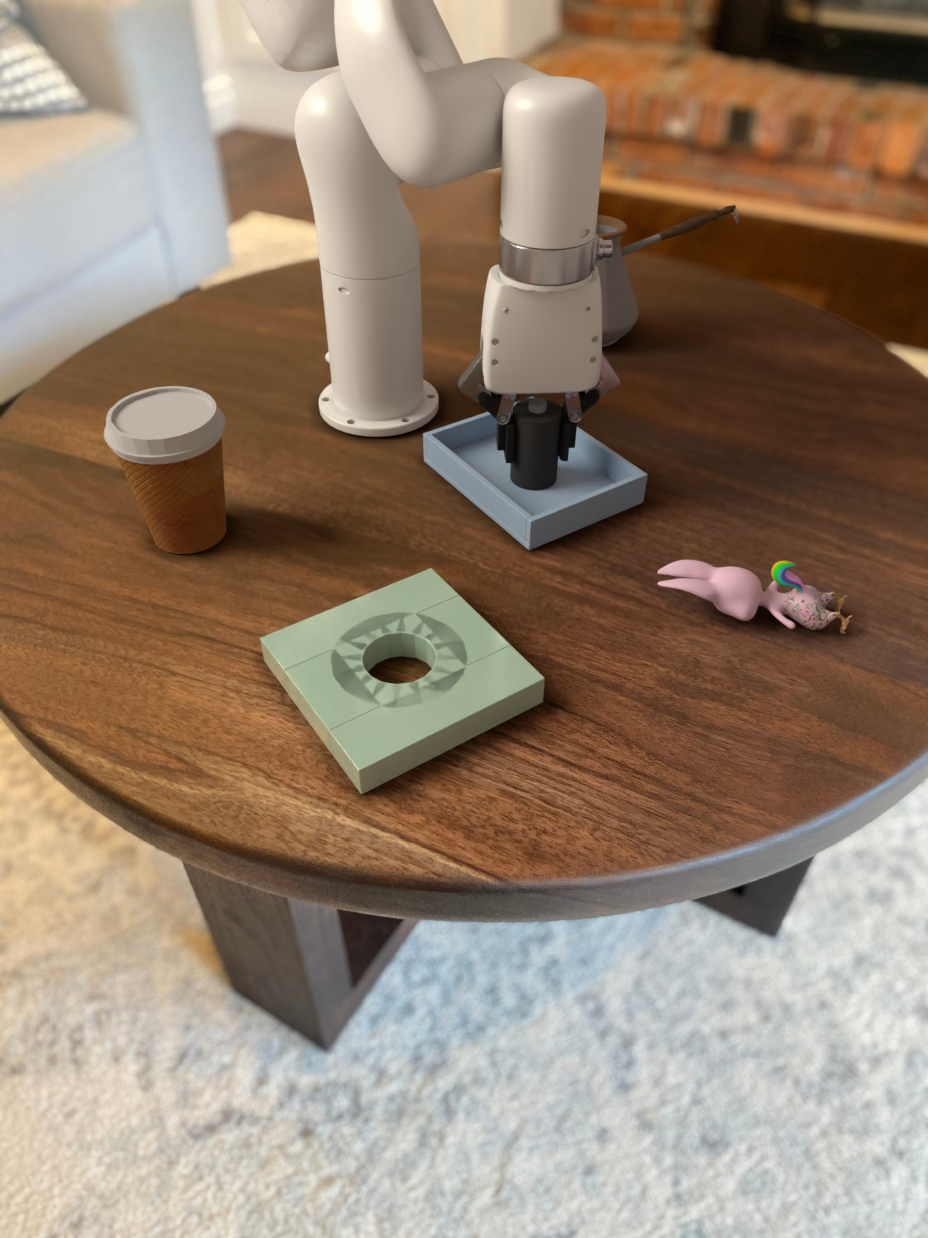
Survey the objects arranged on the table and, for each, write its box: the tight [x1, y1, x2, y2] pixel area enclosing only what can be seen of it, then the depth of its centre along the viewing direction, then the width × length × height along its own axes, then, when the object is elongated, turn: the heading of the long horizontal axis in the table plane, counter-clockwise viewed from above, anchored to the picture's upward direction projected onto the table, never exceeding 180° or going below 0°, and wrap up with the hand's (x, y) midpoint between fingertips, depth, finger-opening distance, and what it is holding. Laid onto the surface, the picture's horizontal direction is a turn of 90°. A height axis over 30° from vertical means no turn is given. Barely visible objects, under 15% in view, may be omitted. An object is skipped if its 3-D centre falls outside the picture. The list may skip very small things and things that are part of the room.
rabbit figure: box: [657, 559, 853, 634], centre depth 73 cm, size 6×6×15 cm
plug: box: [510, 396, 562, 490], centre depth 86 cm, size 4×4×8 cm
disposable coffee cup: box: [103, 385, 228, 555], centre depth 79 cm, size 10×10×12 cm
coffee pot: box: [595, 204, 740, 348], centre depth 108 cm, size 21×12×15 cm, turn 91°
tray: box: [422, 396, 648, 551], centre depth 88 cm, size 17×13×3 cm
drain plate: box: [259, 567, 546, 795], centre depth 69 cm, size 15×15×2 cm
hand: (535, 452), depth 87 cm, fingers closed on plug, 4 cm apart
